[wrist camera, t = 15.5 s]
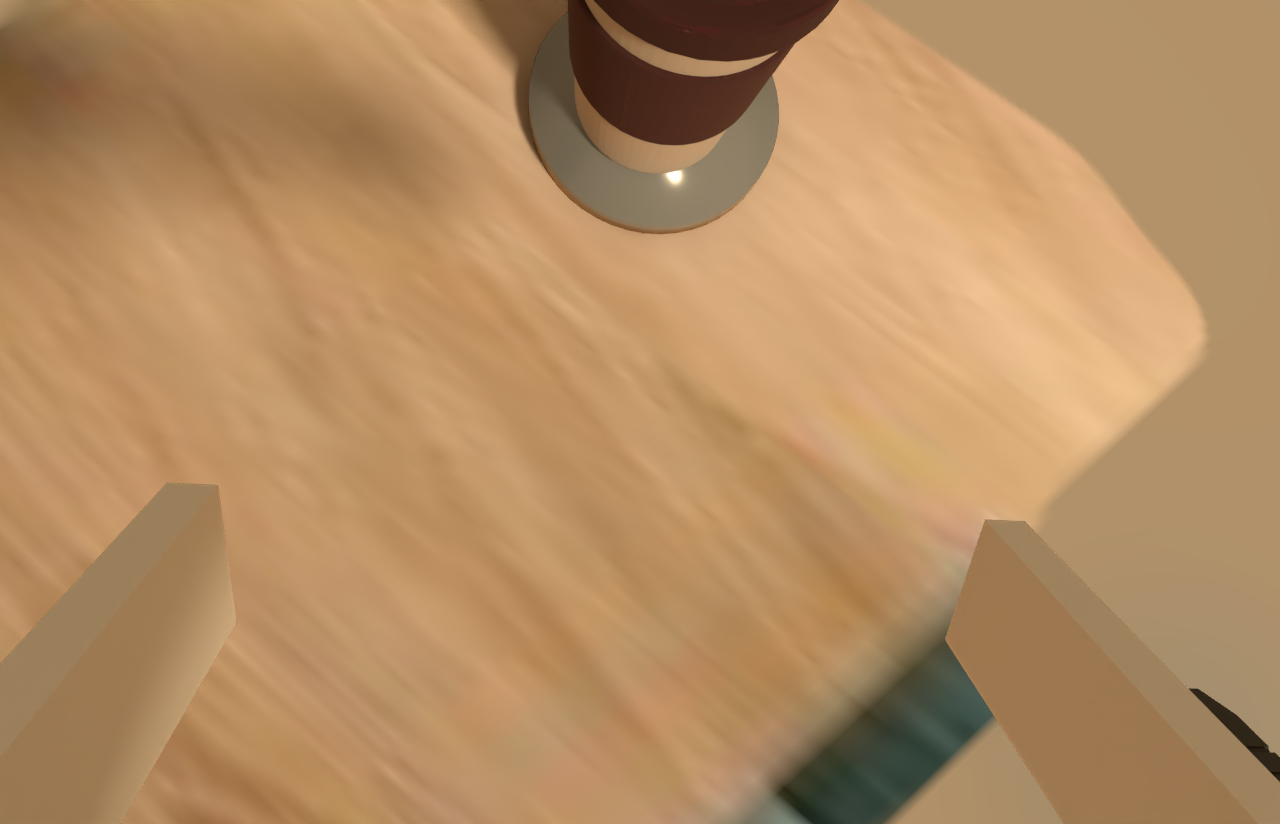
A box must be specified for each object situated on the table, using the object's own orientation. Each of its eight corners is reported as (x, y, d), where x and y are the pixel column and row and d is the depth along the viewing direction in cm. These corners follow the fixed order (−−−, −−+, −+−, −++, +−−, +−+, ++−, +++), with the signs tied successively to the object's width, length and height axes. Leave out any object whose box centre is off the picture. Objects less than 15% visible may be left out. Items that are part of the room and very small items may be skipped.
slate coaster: (491, 178, 37) (490, 167, 36) (578, -37, 39) (580, -54, 37) (728, 270, 38) (734, 262, 37) (801, 57, 40) (809, 43, 39)
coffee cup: (635, 246, 36) (710, 67, 21) (501, 78, 36) (484, -216, 21) (793, 129, 38) (962, -111, 23) (665, -31, 38) (753, -372, 23)
